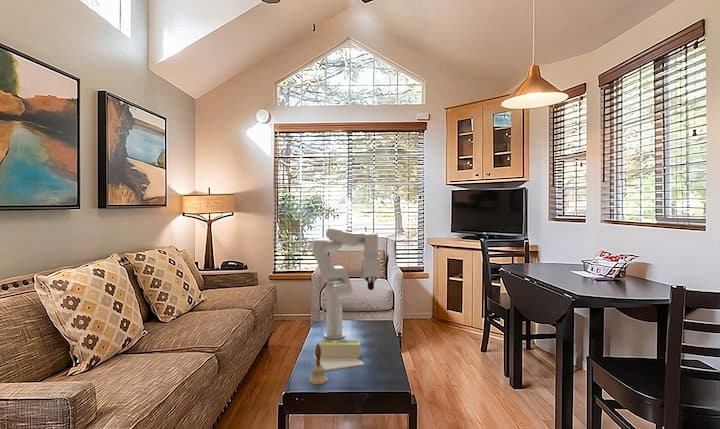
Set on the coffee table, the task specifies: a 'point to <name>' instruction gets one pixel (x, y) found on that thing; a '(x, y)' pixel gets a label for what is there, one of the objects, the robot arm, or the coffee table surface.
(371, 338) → the coffee table surface
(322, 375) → the hand bell
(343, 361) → the sheet of paper
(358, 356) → the toy refrigerator
